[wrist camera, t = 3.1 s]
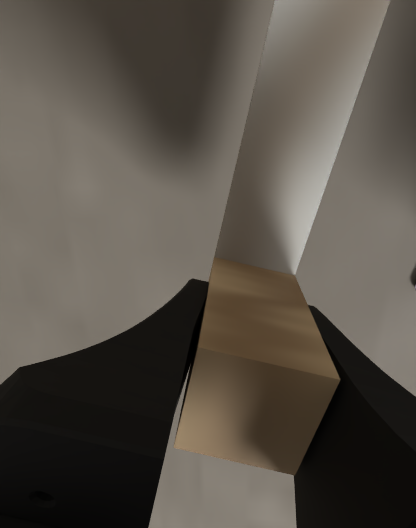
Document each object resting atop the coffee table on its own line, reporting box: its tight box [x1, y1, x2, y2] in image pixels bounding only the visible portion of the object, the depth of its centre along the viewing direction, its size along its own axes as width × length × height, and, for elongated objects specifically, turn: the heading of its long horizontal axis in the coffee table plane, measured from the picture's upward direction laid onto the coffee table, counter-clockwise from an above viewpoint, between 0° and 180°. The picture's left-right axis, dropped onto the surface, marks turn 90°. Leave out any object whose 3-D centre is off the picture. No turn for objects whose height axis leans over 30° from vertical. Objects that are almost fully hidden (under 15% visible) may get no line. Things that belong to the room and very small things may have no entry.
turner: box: [174, 0, 390, 475], centre depth 8 cm, size 3×13×6 cm, turn 168°
